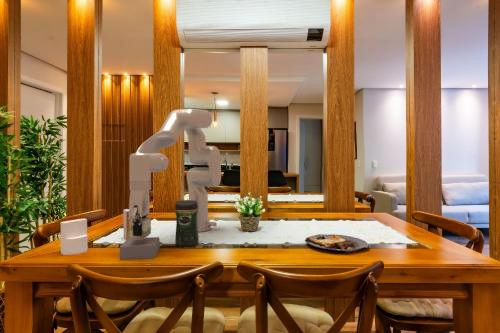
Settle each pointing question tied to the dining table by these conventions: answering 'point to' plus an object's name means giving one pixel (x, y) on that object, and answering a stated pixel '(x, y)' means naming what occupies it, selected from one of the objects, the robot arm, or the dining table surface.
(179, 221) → the coffee jar
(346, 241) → the food plate
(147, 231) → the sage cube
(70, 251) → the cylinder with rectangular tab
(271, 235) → the dining table surface
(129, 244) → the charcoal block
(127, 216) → the small box
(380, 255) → the dining table surface
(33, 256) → the dining table surface
